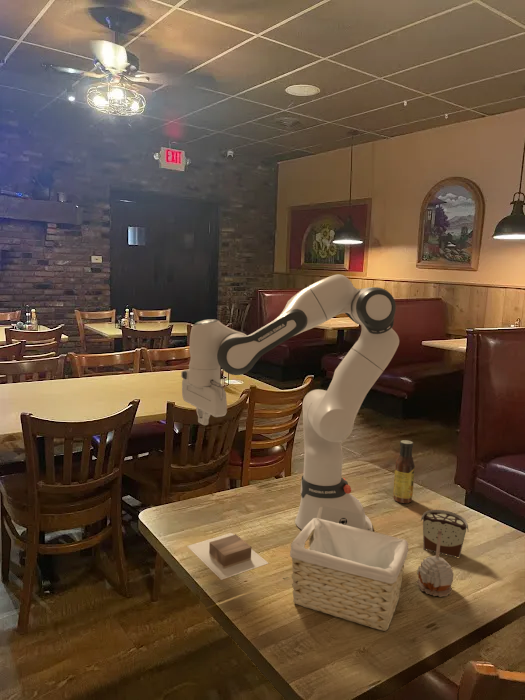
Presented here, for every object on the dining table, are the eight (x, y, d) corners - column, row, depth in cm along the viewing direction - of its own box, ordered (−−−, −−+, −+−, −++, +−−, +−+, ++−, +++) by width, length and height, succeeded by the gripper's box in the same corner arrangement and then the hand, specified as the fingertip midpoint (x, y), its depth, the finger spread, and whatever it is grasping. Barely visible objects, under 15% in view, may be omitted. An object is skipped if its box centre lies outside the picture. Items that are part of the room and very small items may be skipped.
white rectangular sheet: (186, 547, 146) (186, 545, 146) (231, 533, 154) (231, 532, 153) (221, 581, 131) (221, 579, 131) (268, 564, 139) (268, 563, 139)
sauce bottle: (414, 504, 177) (419, 446, 174) (394, 503, 177) (400, 445, 174) (409, 496, 183) (414, 439, 180) (390, 495, 183) (395, 438, 180)
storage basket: (284, 604, 124) (287, 544, 121) (309, 569, 138) (312, 514, 136) (390, 639, 114) (396, 574, 111) (405, 597, 128) (411, 539, 126)
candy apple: (438, 577, 137) (444, 521, 134) (457, 596, 129) (464, 537, 127) (411, 581, 135) (416, 524, 132) (428, 600, 127) (434, 540, 125)
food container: (467, 549, 151) (471, 515, 149) (465, 559, 145) (469, 524, 144) (421, 537, 156) (424, 505, 154) (417, 547, 150) (421, 513, 149)
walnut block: (209, 542, 141) (224, 555, 135) (235, 534, 146) (251, 547, 140) (209, 554, 142) (224, 568, 136) (235, 546, 146) (250, 559, 140)
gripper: (233, 383, 148) (231, 432, 150) (197, 369, 164) (196, 413, 167) (213, 385, 144) (211, 435, 147) (178, 370, 161) (177, 416, 163)
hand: (203, 423), depth 157 cm, fingers closed
